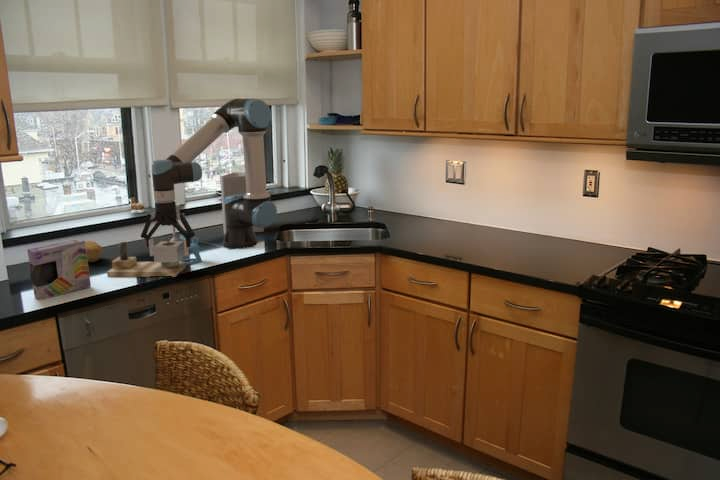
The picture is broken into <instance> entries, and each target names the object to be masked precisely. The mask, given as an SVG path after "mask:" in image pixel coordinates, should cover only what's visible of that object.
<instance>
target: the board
mask: <svg viewBox="0 0 720 480" xmlns="http://www.w3.org/2000/svg"><path fill="white" fill-rule="evenodd" d="M165 246H172V243H171V242H166V243H165ZM118 248H119V249H118V250H119V256H118V257H116V258H115V259H113V260H112V261H111V267H112V268H110V269H108V271H107V272H106V273H107V278H108V277H109V278H110V277H111V278H113V277H115V278H125V277H126V278H135V277H136V278H140V277H141V278H147V277H148V278H151V277H150V276H172V277H171V278H174V277H177V276H178V275H179V274H180V273H181V272H183V270H185V269H186V268H187V267H186V263H187V261H185V262H154V261H137V256H128V250H127V242H126V241H121V242H118ZM180 271H181V272H180ZM179 272H180V273H179ZM178 273H179V274H178ZM177 274H178V275H177Z"/></svg>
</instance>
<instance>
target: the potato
mask: <svg viewBox="0 0 720 480" xmlns="http://www.w3.org/2000/svg"><path fill="white" fill-rule="evenodd" d="M84 241H85V240H84ZM85 244H86V252H87V260H88V263H95V262H97V261H99V259H100V258H101V256H102V255H103V251H104V250H103V248H102V246H101V245H99V244H98V243H97V242H96V241H92V240H86V241H85Z"/></svg>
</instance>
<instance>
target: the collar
mask: <svg viewBox="0 0 720 480" xmlns="http://www.w3.org/2000/svg"><path fill="white" fill-rule="evenodd" d="M166 242H171V243H172V246H165V243H166ZM153 253H154V255H153V262H179V261H180V260H181V259H184V257H186V256H185V250H184V241H183V240H182V241H181V240H179V241H171V240H169V241H168V240H167V241H166V240H165V241H164V240H163V241H162V240H161V241H159V242H158V243H156V244H155V245H154V247H153Z"/></svg>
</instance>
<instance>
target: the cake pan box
mask: <svg viewBox="0 0 720 480" xmlns="http://www.w3.org/2000/svg"><path fill="white" fill-rule="evenodd" d="M27 256H28V262H29V266H30V267H29V268H30V271H29V272H30V273H29V274H30V275H29V276H30V279H31V283H32V289H33V295H34V298H36V299H38V300H39V301H41V300H46V299H49V298H52V297H57V296H60V295H65V294H67V293H71V292H75V291H76V292H77V291H79V290H83V289H86V288H90V287H91V286H92V285H91V277H90V269H89V268H90V267H89V262H88V260H87V252H86V244H85V240H84V239H81V238H77V239H72V240H68V241H67V240H66V241H61V242H60V241H59V242H55V243H49V244H45V245H41V246H36V247H30V248H27Z"/></svg>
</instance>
